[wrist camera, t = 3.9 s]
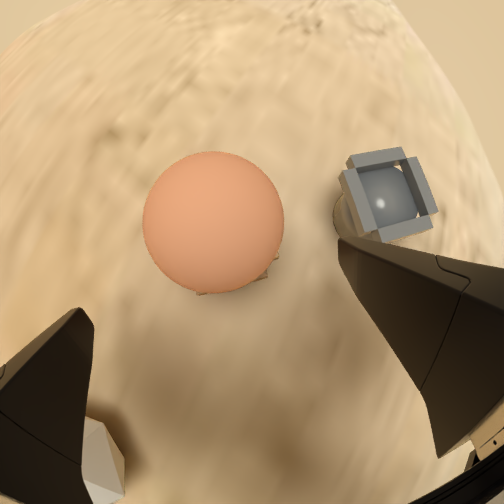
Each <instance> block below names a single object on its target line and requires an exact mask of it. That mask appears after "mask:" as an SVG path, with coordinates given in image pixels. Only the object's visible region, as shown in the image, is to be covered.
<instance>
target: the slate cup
mask: <svg viewBox="0 0 504 504" xmlns="http://www.w3.org/2000/svg"><path fill="white" fill-rule="evenodd" d="M346 165H347V167H348V170H343V171H342V172H341V174H340V176H339V177H338V178H339V181H340V184H341V186H342V189H343V192H344V193H343V194H342V196H341V197H340V198H339V200H338V201H337V203H336V205H335V207H334V211H333V222H334V226H335V228H336V231H337V232H338V234H339V236H340V237H341V238H342V237H345V236H354V237H359V238H364V239H368V240H373V241H377V242H382V243H386V244H387V243H390V242H393V241H397V240H400V239H403V238H406V237H410V236H413V235H416V234H419V233H423V232H426V231H428V230H430V229H432V228H433V225H432V222H431V219H430V216H432V215H434V214H435V213H437V212H439V211H438V209H437V206H436V203H435V201H434V198H433V195H432V193H431V190H430V187H429V185H428V182H427V180H426V178H425V175H424V173H423V170H422V168H421V166H420V163H419V161H418V159H417V157H411V158H406V156H405V154H404V152H403V149H402V147H396V148H390V149H384V150H378V151H372V152H366V153H361V154H355V155H350V157H349V158H348V160H347V162H346ZM398 165H400V166H401V169H402V171H403V172H402V171H400V170H399V169H397V168H395V167H393V166H398ZM418 212H419V215H420V217H418V218H416V216H417V213H418Z"/></svg>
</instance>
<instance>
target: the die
mask: <svg viewBox="0 0 504 504" xmlns="http://www.w3.org/2000/svg"><path fill="white" fill-rule="evenodd" d="M124 463H125V458H124V457H123V455H122V454H121V452H120V450H119V449H118V447H117V446H116V444H115V442H114V441H113V439H112V437H111V436H110V434H109V432H108V430H107V429H106V427H105V425H104V423H102V422H99V421H96V420H94V419H91V418H89V417H86V416H85V424H84V436H83V450H82V476H83V480H84V483H85V485H86V488H87V490H88V492H89V495H90V497H91V499H92V501H93V504H114V503H116V502H117V501H119V500H120V499H122V498H123V497H124V496H125V471H124Z"/></svg>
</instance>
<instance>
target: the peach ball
mask: <svg viewBox="0 0 504 504" xmlns="http://www.w3.org/2000/svg"><path fill="white" fill-rule="evenodd" d="M283 230H284V214H283V208H282V203H281V200H280V198H279V195H278V192H277V190H276V188H275V187H274V185H273V183H272V182H271V180H270V179H269V178H268V176H267V175H266V174H265V173H264V172H263V171H262V170H261V169H259V168H258V167H257V166H256V165H254V164H253V163H251V162H250V161H248V160H246V159H244V158H242V157H240V156H237V155H233V154H230V153H224V152H202V153H197V154H193V155H190V156H188V157H185V158H183V159H181V160H179V161H177V162H176V163H174V164H173V165H171V166H170V167H169V168H168V169H166V170H165V171H164V172H163V173H162V174H161V176H160V177H159V178H158V179H157V181H156V182H155V183H154V185H153V187H152V189H151V190H150V192H149V195H148V197H147V199H146V203H145V206H144V211H143V234H144V239H145V243H146V246H147V249H148V251H149V253H150V255H151V257H152V259H153V260H154V262H155V264H156V265H157V266H158V267H159V269H160V270H161V271H162V272H163V273H164V274H165V275H166V276H167V277H169V278H170V279H171V280H173V281H174V282H176V283H177V284H179V285H181V286H183V287H185V288H188V289H190V290H193V291H197V292H202V293H223V292H228V291H232V290H235V289H238V288H241V287H243V286H245V285H247V284H249V283H250V282H252V281H253V280H255V279H256V278H257V277H258V276H260V275H261V274H262V273H263V272H264V271H265V270H266V269H267V267H268V266H269V265H270V264H271V262H272V261H273V259H274V258H275V256H276V254H277V252H278V250H279V247H280V244H281V241H282V236H283Z"/></svg>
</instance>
